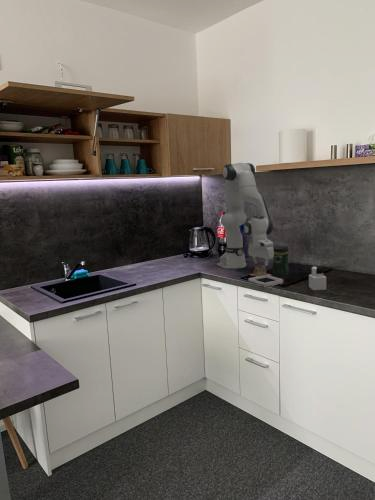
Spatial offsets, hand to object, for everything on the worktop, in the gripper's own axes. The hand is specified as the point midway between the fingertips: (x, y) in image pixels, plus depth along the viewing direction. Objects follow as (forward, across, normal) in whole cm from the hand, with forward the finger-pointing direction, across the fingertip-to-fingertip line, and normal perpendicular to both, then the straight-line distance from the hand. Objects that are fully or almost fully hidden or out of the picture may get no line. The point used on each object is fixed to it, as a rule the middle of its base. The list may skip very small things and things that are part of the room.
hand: (261, 264), depth 239 cm
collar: (+7, -1, 0) cm, 7 cm away
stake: (+8, -1, 0) cm, 8 cm away
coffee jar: (+8, +4, +12) cm, 15 cm away
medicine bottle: (+9, +39, +6) cm, 41 cm away
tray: (+8, +13, -8) cm, 17 cm away
